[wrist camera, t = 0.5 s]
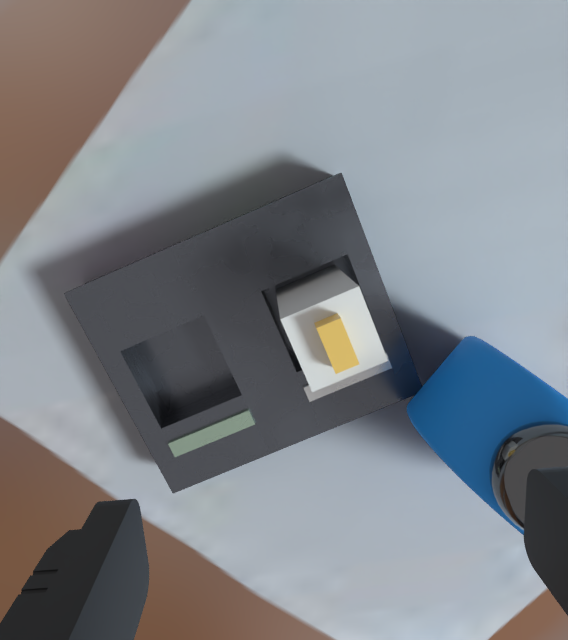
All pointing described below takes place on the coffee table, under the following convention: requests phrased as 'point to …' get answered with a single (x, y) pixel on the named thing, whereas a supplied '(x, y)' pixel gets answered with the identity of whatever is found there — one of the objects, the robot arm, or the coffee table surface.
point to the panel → (237, 336)
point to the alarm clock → (492, 424)
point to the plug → (329, 327)
